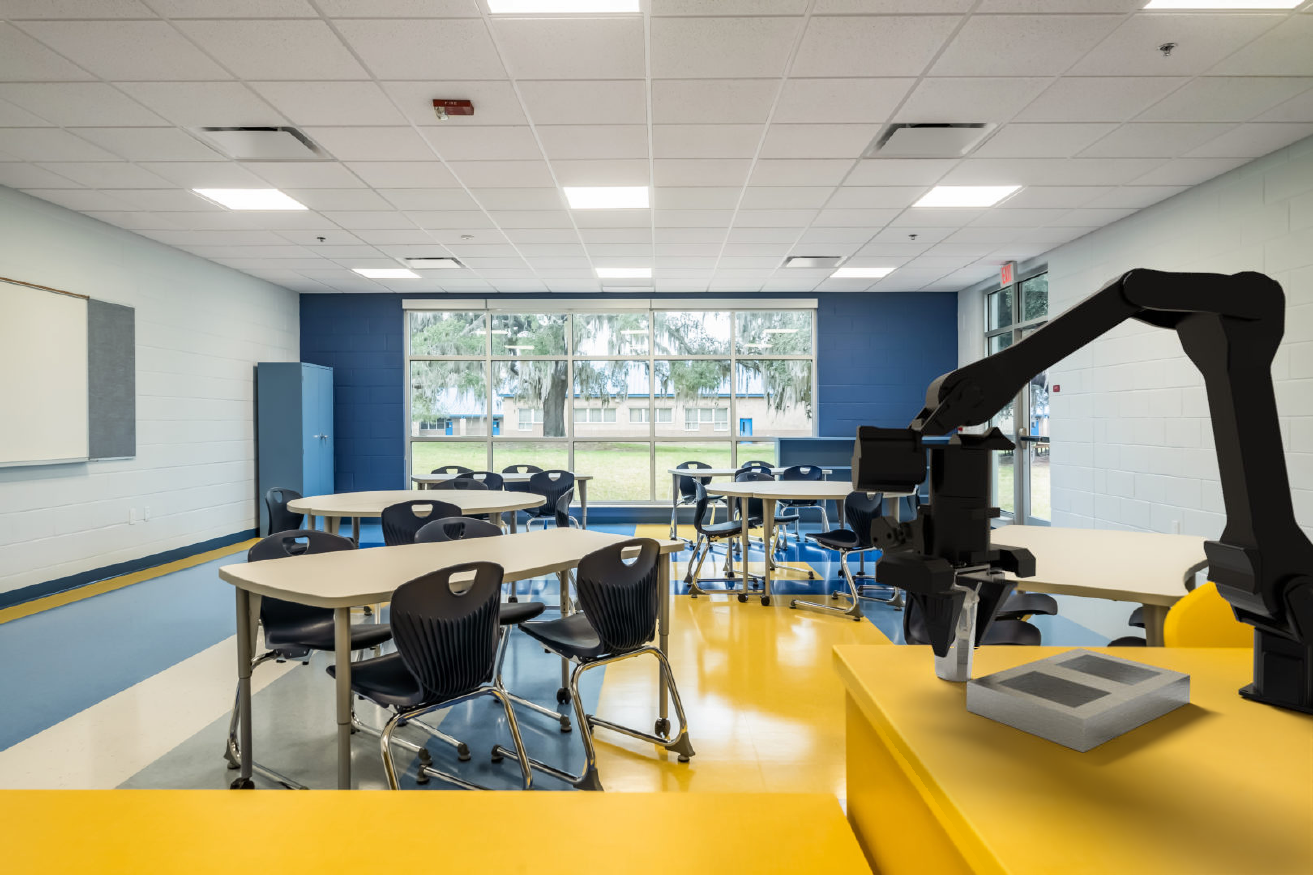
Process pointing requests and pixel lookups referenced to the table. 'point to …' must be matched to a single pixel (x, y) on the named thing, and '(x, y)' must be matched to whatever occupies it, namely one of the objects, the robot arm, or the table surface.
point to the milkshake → (961, 641)
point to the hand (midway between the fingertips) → (956, 652)
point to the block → (1078, 696)
